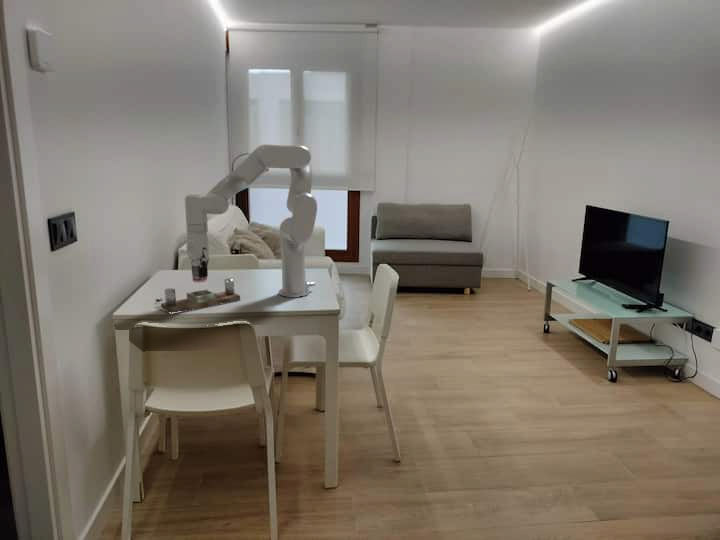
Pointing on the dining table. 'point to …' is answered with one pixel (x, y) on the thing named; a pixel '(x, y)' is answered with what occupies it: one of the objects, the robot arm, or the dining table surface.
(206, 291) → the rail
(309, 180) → the robot arm
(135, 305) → the dining table surface
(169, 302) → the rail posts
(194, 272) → the pill bottle
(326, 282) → the dining table surface
